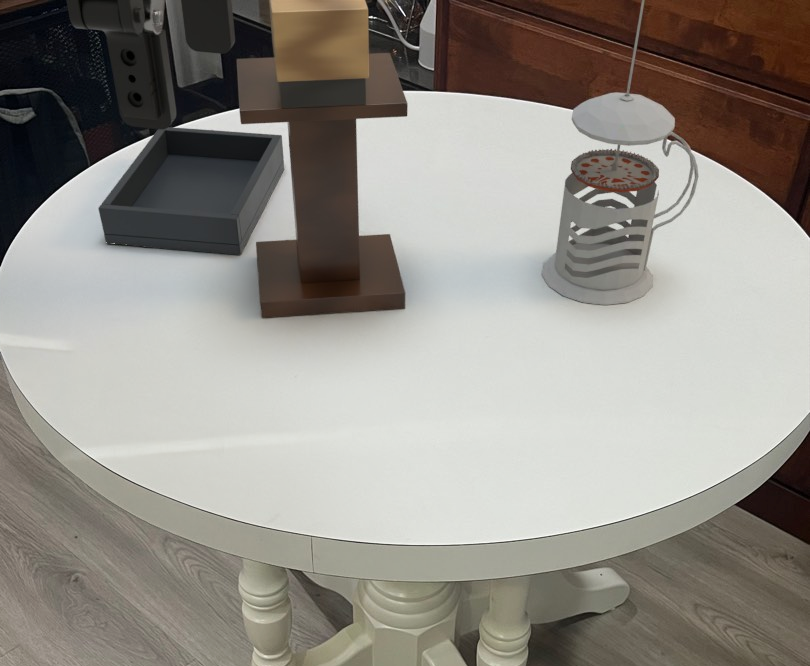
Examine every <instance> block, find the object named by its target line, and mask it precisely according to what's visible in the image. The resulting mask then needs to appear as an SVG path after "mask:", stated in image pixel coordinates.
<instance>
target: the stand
mask: <svg viewBox="0 0 810 666" xmlns="http://www.w3.org/2000/svg"><path fill="white" fill-rule="evenodd" d="M236 71H237V72H236V73H237V87H238V88H237V89H238V90H237V91H238V106H239V107H238V108H239V109H238V110H239V118H240V124H241V125H255V124H256V125H257V124H275V123H279V124H280V123H287V135H288V147H289V148H288V149H289V161H290V174H291V175H290V177H291V190H292V203H293V216H294V229H295V231H294V232H295V239H284V240H283V239H282V240H281V239H280V240H265V241H256V242H255V248H256V264H257V278H258V279H257V280H258V291H259V306H260V316H261V318H262V319H265V318H266V319H267V318H279V317H280V318H281V317H295V316H297V317H298V316H311V315H326V314H341V313H355V312H369V311H371V312H372V311H386V310H399V309H400V310H401V309H406V290H405V287H404V282H403V278H402V275H401V271H400V267H399V263H398V260H397V256H396V251H395V248H394V245H393V244H394V243H393V241H392V237H391V233H383V234H368V235H367V234H365V235H360V219H359V215H360V214H359V180H358V179H359V178H358V177H359V176H358V175H359V174H358V173H359V171H358V137H357V120H361V119H362V120H363V119H383V118H406V117H408V108H409V107H408V101H407V97H406V95H405V92H404V90H403V86H402V84H401V81H400V78H399V76H398V75H399V74H398V72H397V69H396V67H395V63H394V61H393V58H392V55H391V53H390V52H376V53H373V52H372V53H369V78H366V104H365V105H343V106H321V107H299V108H282V104H281V96H280V88H279V82H278V81H277V76H276V68H275V60H274V56H273V57H253V58H251V57H250V58H236Z"/></svg>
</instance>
